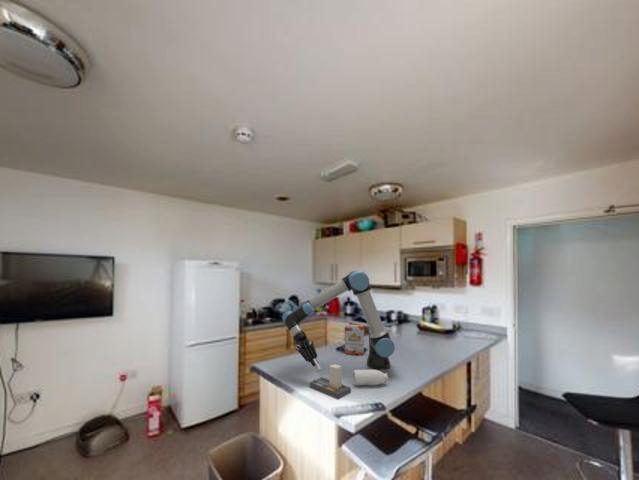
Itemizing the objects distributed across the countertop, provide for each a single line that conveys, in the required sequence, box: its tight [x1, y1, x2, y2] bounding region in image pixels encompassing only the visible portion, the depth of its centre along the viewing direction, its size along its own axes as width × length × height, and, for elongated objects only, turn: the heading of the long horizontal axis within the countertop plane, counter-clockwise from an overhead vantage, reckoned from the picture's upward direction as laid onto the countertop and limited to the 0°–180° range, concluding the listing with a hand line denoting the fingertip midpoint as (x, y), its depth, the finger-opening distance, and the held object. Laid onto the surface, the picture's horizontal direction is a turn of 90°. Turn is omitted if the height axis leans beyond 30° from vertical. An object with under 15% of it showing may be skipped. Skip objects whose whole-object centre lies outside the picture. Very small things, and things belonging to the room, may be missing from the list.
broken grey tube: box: [352, 369, 389, 387], centre depth 151 cm, size 8×19×8 cm, turn 92°
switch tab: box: [328, 363, 343, 388], centre depth 143 cm, size 5×4×10 cm
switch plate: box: [309, 376, 352, 400], centre depth 145 cm, size 20×10×4 cm, turn 46°
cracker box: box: [344, 323, 365, 356], centre depth 207 cm, size 14×6×21 cm, turn 81°
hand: (319, 370), depth 151 cm, fingers closed
